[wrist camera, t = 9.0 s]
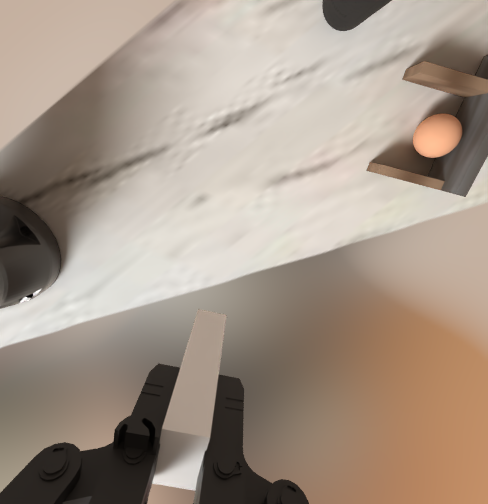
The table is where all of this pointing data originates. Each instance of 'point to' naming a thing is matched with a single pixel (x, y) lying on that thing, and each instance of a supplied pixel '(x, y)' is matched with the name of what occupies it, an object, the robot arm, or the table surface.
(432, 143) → the ball
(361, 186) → the table surface
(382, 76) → the table surface
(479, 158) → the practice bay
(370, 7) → the drinking cup
